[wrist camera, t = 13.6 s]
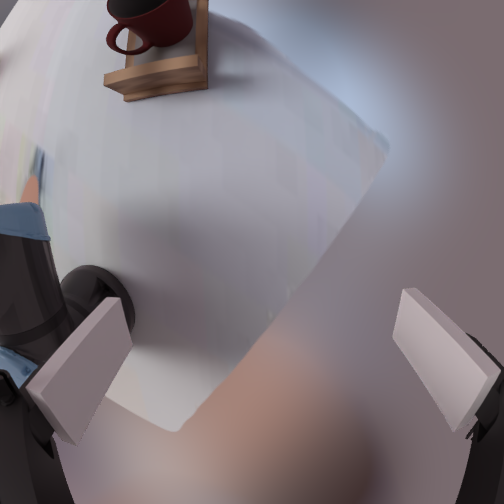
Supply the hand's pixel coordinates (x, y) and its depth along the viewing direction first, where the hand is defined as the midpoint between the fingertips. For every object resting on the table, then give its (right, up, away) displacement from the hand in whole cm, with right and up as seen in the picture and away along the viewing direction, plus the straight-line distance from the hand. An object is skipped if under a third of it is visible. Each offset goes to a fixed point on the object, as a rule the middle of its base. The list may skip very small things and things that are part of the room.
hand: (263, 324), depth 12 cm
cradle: (-13, +34, +17) cm, 41 cm away
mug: (-13, +34, +16) cm, 40 cm away
